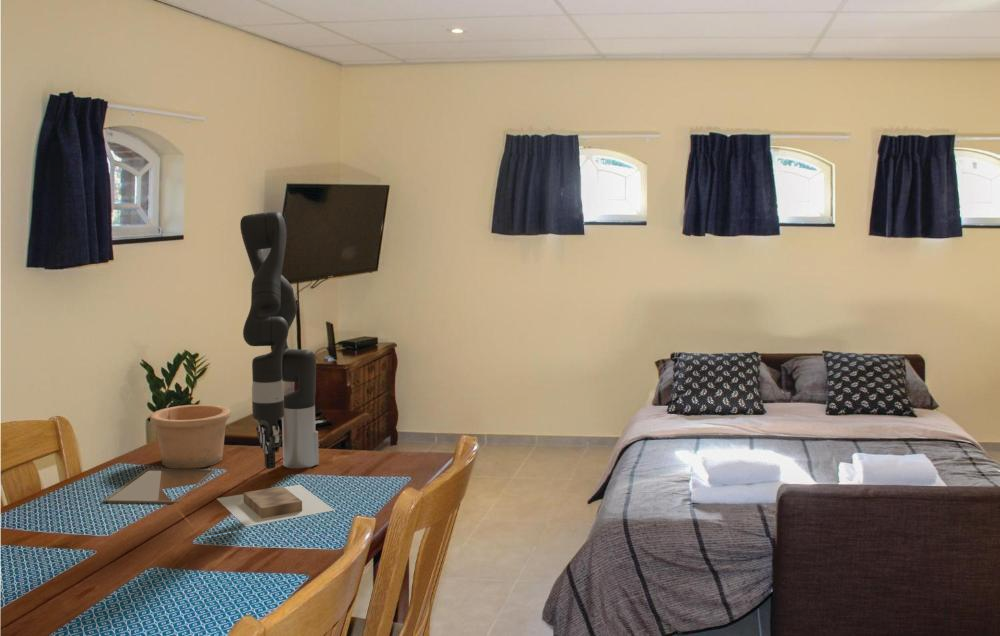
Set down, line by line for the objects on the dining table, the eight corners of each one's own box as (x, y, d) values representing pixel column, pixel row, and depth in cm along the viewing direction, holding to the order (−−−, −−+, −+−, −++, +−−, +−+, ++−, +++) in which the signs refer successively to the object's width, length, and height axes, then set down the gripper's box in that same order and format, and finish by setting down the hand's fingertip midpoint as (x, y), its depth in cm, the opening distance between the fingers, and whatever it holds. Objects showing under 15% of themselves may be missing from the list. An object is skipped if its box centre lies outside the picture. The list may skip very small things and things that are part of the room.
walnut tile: (282, 486, 242) (302, 501, 230) (282, 495, 242) (302, 511, 230) (243, 492, 236) (261, 508, 224) (243, 502, 237) (261, 518, 225)
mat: (299, 486, 251) (299, 484, 251) (335, 511, 231) (334, 510, 231) (216, 500, 239) (216, 498, 239) (245, 528, 219) (245, 526, 219)
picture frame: (178, 505, 237) (215, 473, 264) (178, 501, 236) (215, 469, 264) (102, 504, 237) (147, 472, 265) (102, 500, 237) (146, 468, 265)
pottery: (135, 467, 268) (133, 417, 266) (186, 448, 288) (184, 401, 286) (199, 475, 260) (197, 424, 258) (246, 455, 281) (245, 407, 279)
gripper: (292, 401, 227) (294, 472, 229) (274, 392, 238) (276, 459, 240) (261, 405, 223) (263, 476, 225) (244, 395, 234) (246, 463, 236)
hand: (270, 467), depth 232 cm, fingers closed
